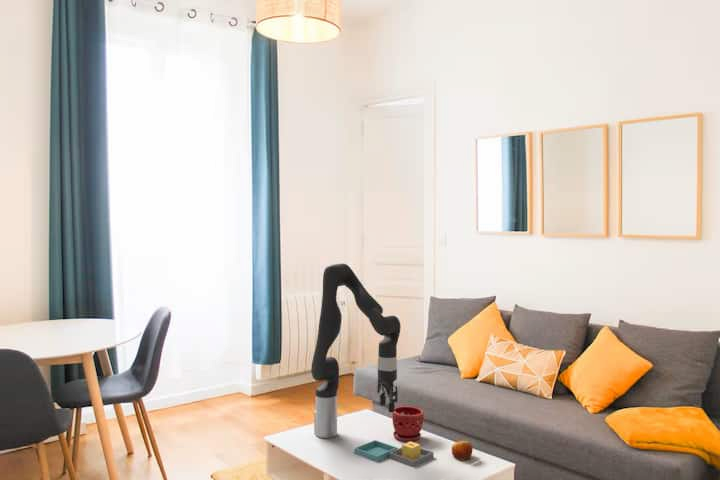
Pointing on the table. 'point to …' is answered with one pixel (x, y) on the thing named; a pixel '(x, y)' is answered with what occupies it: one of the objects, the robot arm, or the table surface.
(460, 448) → the fruit
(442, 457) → the table surface
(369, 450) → the tray
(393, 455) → the tray
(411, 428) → the plant pot
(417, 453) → the marked block
